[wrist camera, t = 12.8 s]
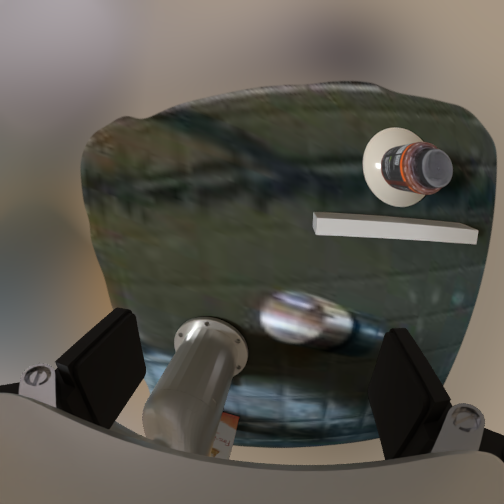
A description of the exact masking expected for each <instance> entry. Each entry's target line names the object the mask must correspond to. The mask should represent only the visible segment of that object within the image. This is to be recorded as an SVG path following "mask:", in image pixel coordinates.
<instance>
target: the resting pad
mask: <svg viewBox="0 0 504 504" xmlns="http://www.w3.org/2000/svg"><path fill="white" fill-rule="evenodd" d="M416 142H423V141H422V140H421V139H420V138H419V137H418V136H417V135H416V134H414V133H413V132H411V131H409V130H406V129H403V128H388V129H385V130H382V131H380V132H379V133H377V134H376V135H374V136H373V137H372V139H371V140H370V141H369V142H368V144H367V146H366V148H365V151H364V155H363V173H364V177H365V180H366V182H367V184H368V186H369V188H370V189H371V191H372V192H373V193H374V194H375V196H376V197H378V198H379V199H380V200H382V201H383V202H385V203H387V204H389V205H392V206H397V207H406V206H410V205H413V204H415V203H417V202H418V201H420V200H421V199H422V198H423V197H424V196H425V195H423V194H417V193H413V192H407V191H402V190H398V189H395V188H393V187H391V186H390V185H388V183H387V182H386V181H385V179H384V178H383V176H382V173H381V160H382V158H383V155H384V154H385V153H386V152H387V151H388V150H389V149H391V148H393V147H396V146H402V145H406V144H411V143H416Z"/></svg>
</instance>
